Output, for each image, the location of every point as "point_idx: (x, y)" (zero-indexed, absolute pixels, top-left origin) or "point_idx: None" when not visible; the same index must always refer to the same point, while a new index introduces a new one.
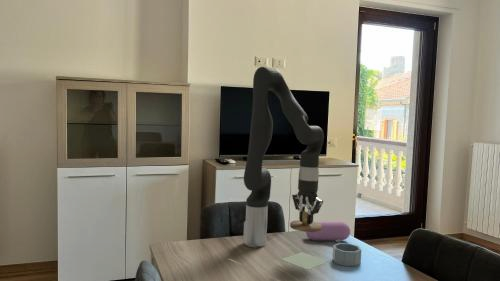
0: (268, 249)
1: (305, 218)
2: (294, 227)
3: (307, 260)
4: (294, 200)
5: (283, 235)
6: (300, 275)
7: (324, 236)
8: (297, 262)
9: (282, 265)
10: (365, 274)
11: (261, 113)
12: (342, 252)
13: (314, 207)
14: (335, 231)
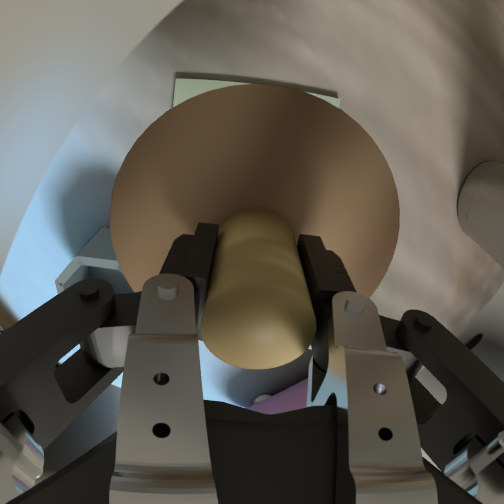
0: (437, 185)
1: (238, 242)
2: (295, 89)
3: None
4: (501, 399)
5: None
6: (173, 21)
7: (296, 388)
8: None
9: (299, 54)
10: (35, 224)
11: None
12: (87, 253)
13: (34, 353)
14: None
